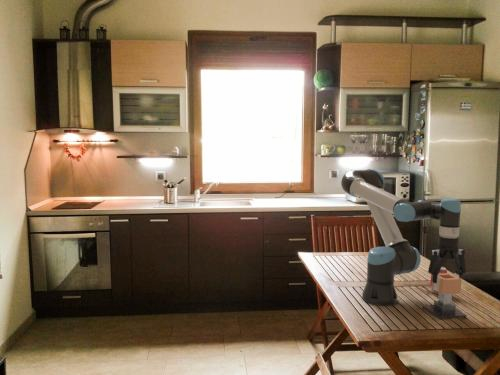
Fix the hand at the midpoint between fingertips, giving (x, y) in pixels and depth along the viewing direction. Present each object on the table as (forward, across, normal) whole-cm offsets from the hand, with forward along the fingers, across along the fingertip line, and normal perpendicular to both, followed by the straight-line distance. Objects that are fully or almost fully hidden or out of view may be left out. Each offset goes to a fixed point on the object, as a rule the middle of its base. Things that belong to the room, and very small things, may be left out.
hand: (445, 289), depth 183 cm
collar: (0, 0, 0) cm, 0 cm away
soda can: (+10, +11, +23) cm, 27 cm away
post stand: (+10, 0, 0) cm, 10 cm away
